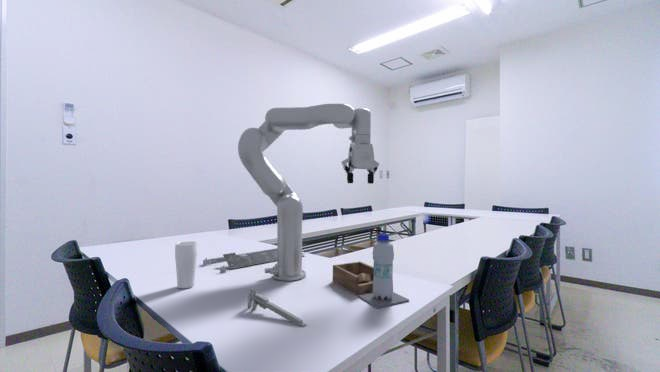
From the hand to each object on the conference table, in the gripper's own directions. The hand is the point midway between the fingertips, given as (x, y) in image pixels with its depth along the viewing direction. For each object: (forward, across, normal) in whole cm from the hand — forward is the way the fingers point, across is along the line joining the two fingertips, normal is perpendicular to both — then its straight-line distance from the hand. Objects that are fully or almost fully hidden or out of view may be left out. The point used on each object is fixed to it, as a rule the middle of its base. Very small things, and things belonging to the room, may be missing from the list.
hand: (360, 183), depth 118 cm
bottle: (+36, -8, -25) cm, 44 cm away
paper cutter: (+37, -30, +40) cm, 62 cm away
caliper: (+37, -42, -21) cm, 60 cm away
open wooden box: (+36, -8, -11) cm, 39 cm away
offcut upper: (+34, -7, -14) cm, 38 cm away
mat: (+36, -8, -25) cm, 45 cm away
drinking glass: (+36, -62, +15) cm, 73 cm away
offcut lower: (+37, -7, -16) cm, 41 cm away
